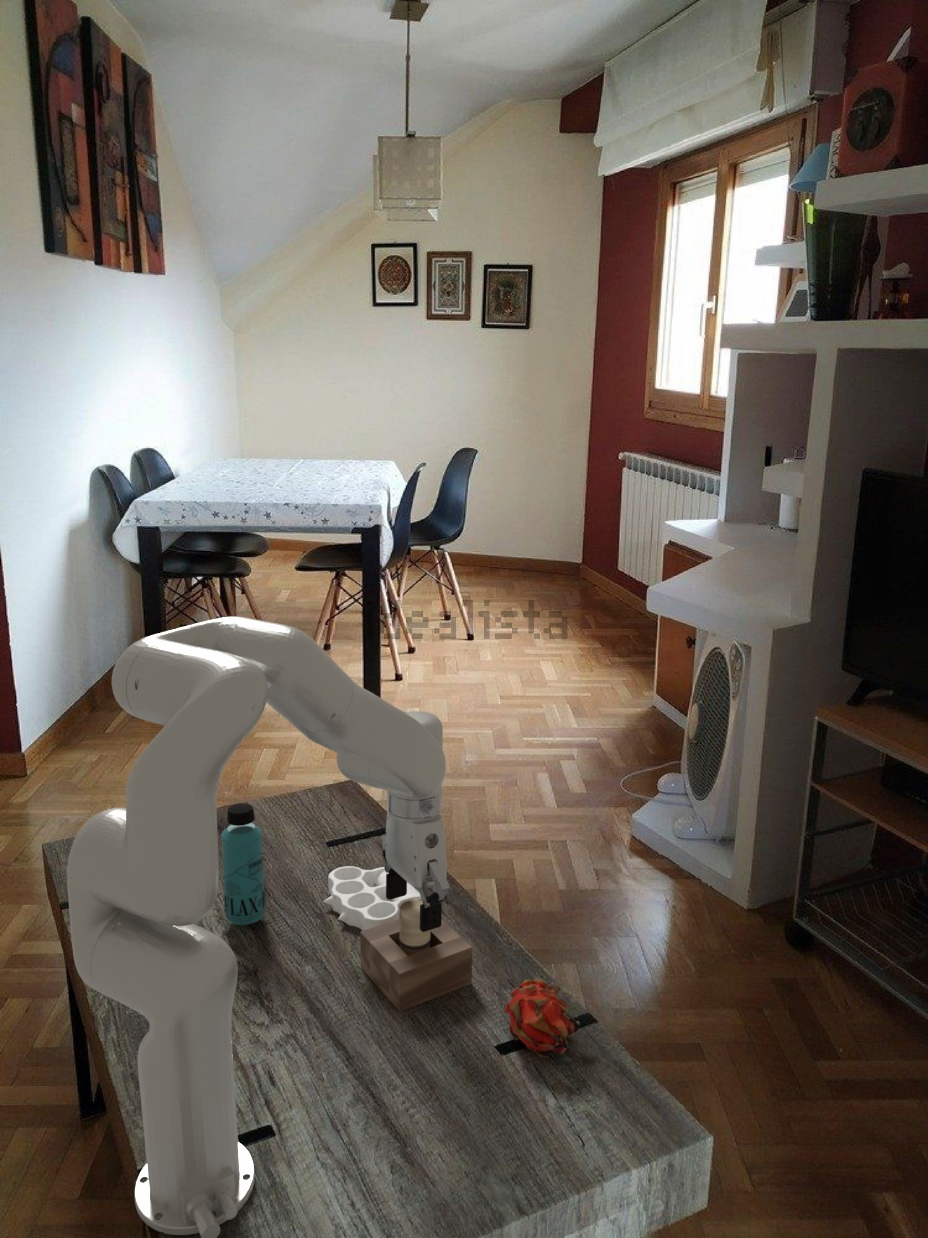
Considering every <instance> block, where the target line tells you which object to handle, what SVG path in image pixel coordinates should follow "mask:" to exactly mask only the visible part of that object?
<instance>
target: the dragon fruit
mask: <svg viewBox="0 0 928 1238" xmlns="http://www.w3.org/2000/svg"><path fill="white" fill-rule="evenodd" d="M560 990H561V987H560V986H559V985H557V984H551V985H550V986H548V983H547V982H546V980H544V979H543V978H539V977H537V978H535V979H533V980H532V979H530V978H526V979H525V980H523V982H522V983H521V984H519V986H517V987H515V988H514V989H513V990H512V991H511V992H510V995H511V996H512V999H511V1000H510V1001H509V1000H508V1001H507V1002H506V1004H504V1006H503V1007H504V1008H503V1012H504V1013H506V1014H508V1015H509V1020H510V1021H509V1032H510V1036H511V1038H512V1039H513V1040H514V1041H518V1040H520V1041H521V1042H522V1043H523V1044H524V1045H525V1046H526V1047H527V1049H529V1050H530V1051H531V1052H532V1054H533V1055H537V1056H538V1057H540V1058H545V1059H550V1057H549V1056H548V1055H547V1051H552V1052H555V1053H558V1054H559V1055H562V1054H563V1053H564V1052H565V1051H566V1049H567V1050H568V1049H569V1044H568V1043H569V1042H571V1041H572V1040H571V1039H570V1036H572V1034H575V1033H577V1031H578V1030H579V1027H580V1024H581V1023H580V1021H578V1020H576V1019H575V1017H574V1016H572V1015H570V1010H569V1009H568V1008H569V1007H570V1005H569V1004H568V1002H567V1000H564V999H562V998H559V997H558V995H559V992H560Z"/></svg>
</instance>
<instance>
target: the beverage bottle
mask: <svg viewBox="0 0 928 1238" xmlns="http://www.w3.org/2000/svg"><path fill="white" fill-rule="evenodd" d="M254 811H255V810H254V806H253V805H252V804H251V803H245V802H238V803H235V804H232V805H230V806H229V807H228V809H227V816H226V820H227V821H226V822H227V824H229V825H228V826H227V827H226V829H224V830H223V831H222V832H221V835H220V839H221V851H222V871H223V873H222V876H223V877H222V883H223V890H222V891H223V895H222V896H223V910H224V911H223V912H224V916H225V918H226V919H227V921H228V922H229V923H231V924H233V925H237V926H245V925H246V926H247V925H251V924H254V923H256V922H258V921H260V920H262V919H263V917H264V916H265V914H266V906H267V905H266V904H267V902H266V891H265V876H264V873H265V872H264V869H265V866H264V865H265V864H264V861H265V860H264V853H263V831H262V829H261V828H260V826H258V825H256V824H255V823H253V822H254V821H255V812H254Z"/></svg>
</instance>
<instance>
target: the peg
mask: <svg viewBox="0 0 928 1238" xmlns="http://www.w3.org/2000/svg"><path fill="white" fill-rule="evenodd" d="M421 904H423V902H422V900H409V901H406V902H404V903H402V904H401V906H400V935H399V943H400V948H401V949H402V950H403V951H404V952H405V953H406V954H407V955H408V956H409V955H411V954H414V953H417V952H420V951H423V950H425V949H428V948H430V942H431V935H430V930H429V931H425V932H422V931H421V930H420V905H421Z"/></svg>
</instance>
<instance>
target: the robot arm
mask: <svg viewBox="0 0 928 1238" xmlns="http://www.w3.org/2000/svg"><path fill="white" fill-rule="evenodd" d="M111 688H112V694H113V696H114V699H115V700H116V702H117V703H118V705H119V707H121V708H122V709H123V710H124V711H125V712H126V713H128V714H129V715H131V716H133V717H135V718H137V719H139V720H140V719H141V720H143V721H145V722H151V723H154V724H157V725H162V726H163V727H162V728H161V729H160V731H159V732H158V733H157V734H156V735H155V737H153V739H151V741H150V743H148V745H147V746H145V748H144V749H143V750H142V751H141V753H140V755H139V756H138V757H137V759H136V760H135V761H134V764H133V765H132V767H131V769H130V771H129V774H128V778H127V781H126V785H125V786H126V787H125V807H113V808H108V809H104V810H102V811H99V812H98V813H96V814H95V815H93V816H92V817H91V818H89V820H87V821H86V823H85V824H84V825H83V826H82V827H81V829H80V830H79V831H78V833H77V834H76V837H75V838H74V841H73V843H72V845H71V849H70V852H69V855H68V858H67V859H68V860H67V866H66V884H67V897H68V907H69V908H68V911H69V922H70V923H69V924H70V936H71V946H72V954H73V960H74V964H75V968H76V971H77V973H78V975H79V977H80V978H81V980H82V982H84V983H85V984H86V985H87V986H88V987H89V988H91V989H92V990H94V991H95V992H98V993H99V994H102V995H104V996H105V997H108V998H110V999H112V1000H114V1001H116V1002H118V1003H120V1004H122V1005H125V1006H127V1007H128V1008H130V1009H131V1010H133V1011H135V1012H137V1013H139V1014H141V1015H142V1016H143V1017H145V1018H146V1020H147V1021H148V1023H149V1029H148V1031H147V1033H145V1035H144V1036H143V1038H142V1040H141V1041H140V1044H139V1046H138V1050H137V1060H136V1061H137V1075H138V1083H139V1093H140V1104H141V1112H142V1124H143V1135H144V1146H145V1157H146V1158H145V1159H146V1164H145V1165H144V1166H143V1168H142V1169H141V1170H140V1172H139V1174H138V1176H137V1179H136V1180H135V1186H134V1204H135V1208H136V1212H137V1214H138V1216H139V1217H140V1220H142V1221H143V1223H145V1224H146V1225H147V1226H149V1228H151V1229H153V1230H154V1231H156V1232H160V1233H162V1232H163V1233H162V1234H166V1235H172V1236H173V1235H174V1236H189V1235H195V1234H199V1235H200V1238H218V1236H219V1235H220V1234H221V1227H220V1225H222V1224H224V1223H225V1222H227V1221H229V1220H233V1219H234V1218H235V1217H236V1216H237V1215H238V1212H239V1211H240V1210H241V1209H242V1208H243V1207H244V1205H245V1204H246V1202H247V1201H248V1200H249V1198H250V1196H251V1194H252V1192H253V1189H254V1186H255V1185H254V1184H255V1179H256V1178H255V1175H256V1173H255V1163H254V1161H253V1160H254V1159H253V1157H252V1155H251V1153H250V1151H248V1149H247V1148H246V1147H245V1146H244V1145H243V1144H242V1143H240V1142H239V1137H238V1136H239V1135H238V1134H239V1133H238V1121H237V1105H236V1104H237V1103H236V1102H237V1101H236V1089H235V1087H236V1086H235V1073H234V1072H235V1071H234V1070H235V1069H234V1057H233V1056H234V1055H233V1040H232V1038H233V1037H232V1036H233V1035H232V1017H233V1006H234V1000H235V992H236V988H237V982H238V972H239V971H238V968H239V967H238V961H237V957H236V955H235V953H234V951H233V950H232V948H231V946H230V945H229V944H228V943H227V942H226V941H225V940H224V939H223V938H221V937H220V936H219V935H218V934H216V933H214V932H212V931H211V930H208V929H206V928H204V927H202V926H199V925H197V924H195V923H197V922H200V921H201V920H202V919H203V918H204V917H206V916H207V915H208V914H209V912H210V911H211V910H212V908H213V906H214V904H215V902H216V898H217V894H218V889H219V874H220V873H219V842H218V818H217V801H218V800H217V799H218V798H217V797H218V787H219V780H220V779H221V775H222V773H223V771H224V769H225V767H226V765H227V764H228V762H229V760H231V758H232V756H233V755H234V753H235V751H236V750H237V748H239V746H240V745H241V743H242V742H243V741H244V740H245V739H246V737H247V736H248V735H249V734H250V733H251V732H252V730H253V729H254V728H255V727H256V725H257V724H258V722H259V720H260V719H261V717H262V715H263V713H264V710H265V708H266V705H268V706H270V707H271V708H272V709H273V710H274V711H276V712H277V713H278V714H280V715H281V716H282V717H283V718H284V719H285V720H286V721H287V722H289V723H290V724H291V725H292V726H293V727H294V728H296V729H297V730H298V731H299V732H300V733H301V734H302V735H304V737H306V738H307V739H308V740H310V741H312V742H314V743H315V744H318V745H320V746H322V747H324V748H326V749H328V750H330V751H333V752H334V753H336V759H335V760H336V765H337V768H338V770H339V772H340V773H341V774H342V775H343V776H344V777H345V778H346V779H348V780H350V781H351V782H355V783H358V784H361V785H365V786H368V787H371V788H374V789H375V788H376V789H380V790H383V791H386V805H387V806H386V812H387V813H386V814H387V816H386V825H385V834H382V835H380V840H381V841H380V842H381V844H382V849H383V851H382V857H383V859H384V861H385V864H384V865H383V867H384V869H385V872H386V873H389V874H386V898H387V899H388V900H392V899H395V898H398V897H402V896H405V895H406V894H407V882H408V883H409V884H411V885H412V886H413V887H414V888H415V889H416V890H417V891H418V892H419V893H420V896H421V899H422V902H423V904H421V905H420V930H421V931H422V932H425V931H429V930H432V929H435V928H438V927H440V926H441V923H442V920H443V919H442V918H443V917H442V916H443V913H442V912H443V911H442V909H443V903H444V902H445V900H446V899H447V897H448V893H449V890H450V884H449V881H448V880H447V876H448V875H447V873H448V872H447V871H448V867H447V865H448V864H447V844H446V841H447V840H446V832H445V831H446V830H445V826H444V825H445V824H444V821H443V816H442V815H441V813H442V798H443V797H442V793H443V792H442V787H443V781H444V779H445V776H446V770H447V762H446V757H445V752H444V750H443V742H444V741H443V737H444V736H443V733H444V731H443V730H444V729H443V724H442V722H441V720H440V718H439V717H437V716H436V715H435V714H432V713H430V712H427V711H426V712H425V711H421V710H420V711H416V710H414V711H413V710H412V711H405V712H404V711H403V710H401V709H400V708H398V707H396V706H394V705H392V704H391V703H390V702H387V701H386V700H384V699H383V698H381V697H380V696H378V695H376V694H375V693H374V692H372V691H370V690H367V689H366V688H364V687H362V686H360V685H359V684H358V683H356V682H355V681H354V680H353V679H352V678H351V676H350V675H348V674H347V673H346V672H345V671H344V670H343V669H342V668H341V667H340V665H338V664H337V663H336V662H335V661H334V660H333V658H332V657H331V656H330V655H329V654H328V653H327V652H326V651H325V650H324V649H323V648H322V647H321V646H320V645H319V644H318V643H317V641H315V640H314V639H313V637H311V636H310V635H309V634H307V633H306V632H305V631H302V630H301V629H299V628H296V627H294V626H292V625H291V626H290V625H288V624H282V623H276V622H272V621H266V620H261V619H254V618H249V617H245V616H225V617H223V616H222V617H218V618H214V619H208V620H205V621H201V622H197V623H193V624H189V625H186V626H181V627H178V628H175V629H171V630H166V631H161V632H160V633H155V634H152V635H149V636H145V637H142V638H141V639H138V640H137V641H135V642H133V643H131V645H129V646H128V647H127V648H126V649H125V650H124V651H123V652H122V653H121V654H120V655H119V657H118V658H117V660H116V663H115V665H114V667H113V670H112V675H111ZM428 878H430V881H426V879H428ZM430 887H432V888H433V893H431V894H430V895H428V892H427V888H430Z"/></svg>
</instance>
